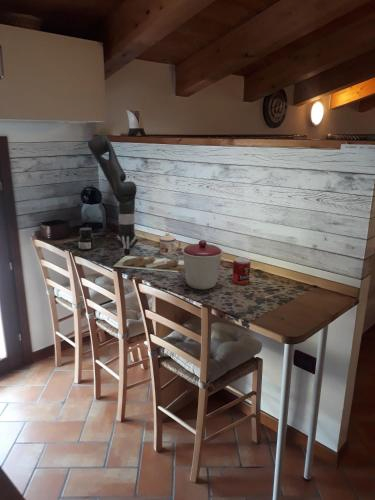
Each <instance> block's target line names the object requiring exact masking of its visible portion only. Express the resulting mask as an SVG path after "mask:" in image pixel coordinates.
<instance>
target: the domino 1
mask: <svg viewBox="0 0 375 500" xmlns="http://www.w3.org/2000/svg"><path fill="white" fill-rule="evenodd" d="M136 257H137V258H132V259H128V260H125V261H124V262H123V266H127V265H131V264H136V263H140V262H142V261H143V260H144V257H145V256H144V255H142V256H136Z"/></svg>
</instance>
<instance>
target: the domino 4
mask: <svg viewBox="0 0 375 500" xmlns="http://www.w3.org/2000/svg"><path fill="white" fill-rule="evenodd" d="M178 260H179V259H178V258H176V259H170V261H167V262H166V264H163V265H159V266H157V268H158V269H162V268H166V267H171V266H176V265H177V264H178V263H179V261H178Z"/></svg>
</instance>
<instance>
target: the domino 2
mask: <svg viewBox="0 0 375 500" xmlns="http://www.w3.org/2000/svg"><path fill="white" fill-rule="evenodd" d="M147 258H148V259H144V260H143V261H142V262H140V263H136V264H134V266H135V267H138V266H143V265H147V264H152V263H154V262H155V261H156V259H155V258H156V257H155V256H153V257H147Z"/></svg>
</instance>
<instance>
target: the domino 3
mask: <svg viewBox="0 0 375 500" xmlns="http://www.w3.org/2000/svg"><path fill="white" fill-rule="evenodd" d="M158 259H159V260H156V261H155V262H154V263H152V264H147V265H146V267H147V268H150V267H154V266H159V265H163V264H166V262H167V261H168V260H167V259H168V257H164V258H158Z"/></svg>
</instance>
